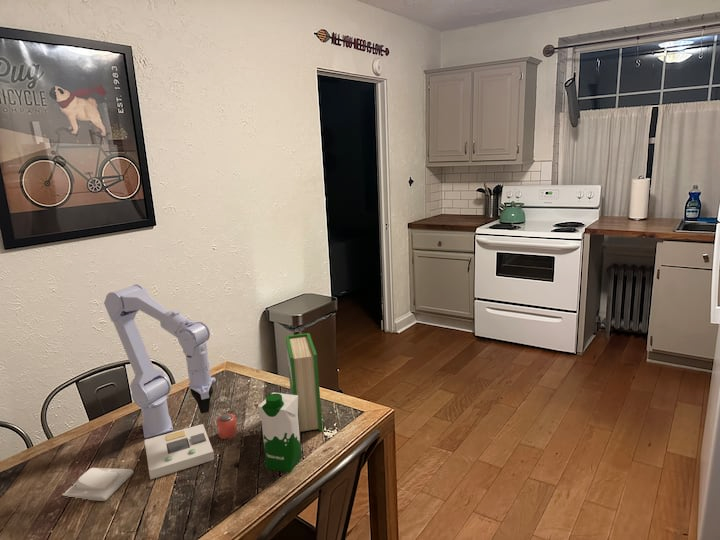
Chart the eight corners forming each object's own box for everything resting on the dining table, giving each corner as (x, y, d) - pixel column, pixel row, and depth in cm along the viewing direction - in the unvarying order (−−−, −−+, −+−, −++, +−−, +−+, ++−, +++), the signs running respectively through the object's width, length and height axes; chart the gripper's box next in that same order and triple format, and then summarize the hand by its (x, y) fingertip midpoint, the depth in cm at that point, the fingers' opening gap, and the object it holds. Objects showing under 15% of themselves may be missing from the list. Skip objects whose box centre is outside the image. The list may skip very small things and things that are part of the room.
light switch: (89, 459, 129) (131, 460, 127) (92, 473, 130) (134, 474, 128) (56, 486, 119) (102, 488, 116) (60, 501, 120) (105, 503, 117)
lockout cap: (217, 432, 145) (215, 416, 143) (234, 427, 147) (232, 411, 146) (220, 440, 140) (218, 424, 139) (238, 435, 142) (237, 419, 141)
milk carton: (261, 470, 126) (253, 399, 121) (277, 450, 134) (271, 383, 130) (291, 476, 123) (285, 403, 118) (307, 455, 131) (301, 386, 127)
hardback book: (322, 431, 142) (316, 354, 137) (297, 435, 141) (290, 358, 135) (314, 402, 159) (309, 333, 153) (291, 406, 158) (285, 335, 152)
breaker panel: (145, 447, 138) (144, 438, 138) (203, 431, 145) (202, 422, 145) (150, 479, 124) (148, 468, 124) (214, 459, 131) (213, 449, 131)
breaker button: (168, 451, 136) (167, 444, 135) (187, 446, 138) (186, 438, 138) (170, 461, 132) (169, 453, 131) (190, 455, 134) (188, 447, 133)
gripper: (218, 373, 130) (224, 419, 133) (209, 354, 142) (214, 397, 146) (190, 379, 127) (197, 426, 130) (183, 360, 140) (189, 403, 143)
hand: (204, 411), depth 138 cm, fingers closed
